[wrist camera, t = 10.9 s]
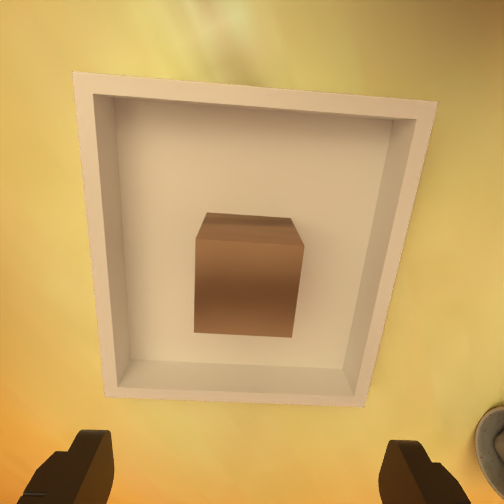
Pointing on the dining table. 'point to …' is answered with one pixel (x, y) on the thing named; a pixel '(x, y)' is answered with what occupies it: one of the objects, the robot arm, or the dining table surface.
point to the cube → (246, 275)
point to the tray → (244, 203)
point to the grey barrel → (491, 448)
